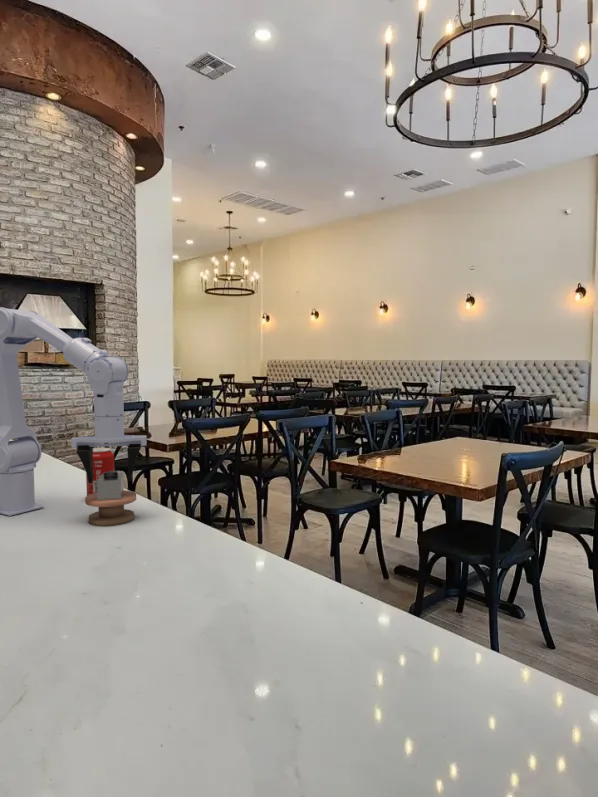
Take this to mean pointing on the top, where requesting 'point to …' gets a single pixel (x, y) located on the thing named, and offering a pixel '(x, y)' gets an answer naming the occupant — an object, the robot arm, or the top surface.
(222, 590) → the top surface
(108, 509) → the stand
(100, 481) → the block
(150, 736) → the top surface
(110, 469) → the beverage can
